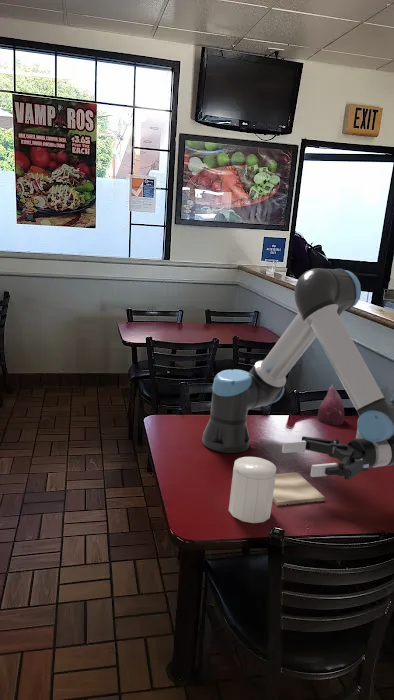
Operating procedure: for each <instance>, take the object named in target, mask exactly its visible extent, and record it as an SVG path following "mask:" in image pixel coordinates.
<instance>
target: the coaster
mask: <svg viewBox="0 0 394 700" xmlns="http://www.w3.org/2000/svg"><path fill="white" fill-rule="evenodd" d="M325 497H326V496H324V494H322V493H321V492H320V491H318V489H317V488H315V487H314V486H313V485H312V484H311V483H310V482H308V481H307V480H306V479H305V477H303V476H302V475H301V474H300V473H298V472H295V471H294V472H286V473H276V477H275V485H274V492H273V499H272V503H273V504H274V505H275V506H276V507H279V506H288V505H297V504H298V505H299V504H305V503H306V502H307V503H314V502H315V501H316V502H322V501H324V502H325V499H326V498H325ZM287 504H288V505H287Z"/></svg>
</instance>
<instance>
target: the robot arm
mask: <svg viewBox="0 0 394 700" xmlns="http://www.w3.org/2000/svg"><path fill="white" fill-rule="evenodd" d="M294 287H295V288H294V293H293V294H294V301H295V304H296V307H297V310H298V312H297V314H296V315H295V317H294V318H293V320H292V321H291V322H290V324H289V325H288V326H287V328H285V330H284V332H283V333H282V335H280V338H279V339H278V340H277V342H276V343H274V344H275V345H274V346H273V347H272V348H271V350H270V351H269V353H268V354H267V355H266V357H264V359H262V360H261V359H260V360H258V361H256V362H255V363H254V365H253V366H252V368H251V369H250V370H249V371H246V370H243V369H237V368H236V369H235V368H234V369H224V370H221V371H220V372H218V373H217V374H216V375H215V376H214V377H213V378H214V379H213V383H212V387H211V388H212V393H211V403H210V404H211V405H210V414H209V415H210V416H209V420H208V422H207V425H206V426H205V428H204V430H203V433H202V439H201V440H202V444H203V445H204V446H205V447H207V449H210V450H213V451H215V452H219V453H225V454H238V453H242V452H245V451H247V450H248V449H249V448H250V442H251V441H250V435H249V430H248V425H247V418H248V412H249V410H252V409H255V408H259V407H264V406H265V407H266V406H270V405H272V404H274V403H276V402H277V401H279V400H280V399H281V398H282V397H283V395H284V393H285V390H286V389H285V385H286V383H287V377H286V376H287V375H288V374H289V372H290V371H291V369H292V368H293V367H294V366H295V365H296V364H297V362H298V361H299V359H300V358H301V357H302V356H303V354H304V353H305V352H306V351H307V349H309V347H310V346H311V344H312V343H313V342H314V340H315V339H317V340H318V342H319V344H320V346H321V347H322V350H323V352H324V353H325V355H326V356H327V359H328V361H329V362H330V364H331V366H332V368H333V369H334V372H335V374H336V375H337V377H338V378H339V380H340V382H341V385H342V386H343V388H344V390H345V392H346V393H347V395H348V397H349V399H350V401H351V403H352V405H353V407H354V408H355V410H356V412H357V414H358V419H357V423H356V427H357V428H358V431H359V433H360V435H361V436H362V437H363V438H360V439H356V438H353V439H352V440H350V442H349V443H348V444H346V443H340V440H339V439H335V438H334V439H328V438H322V437H321V438H320V437H312V436H305V435H304V436H302V437H301V440H293V441H292V440H291V441H283V442H282V446H281V447H282V448H281V453H282V454H289V453H300V452H303V453H305V451H310V452H314V453H320V454H324V455H328V457H330V458H334V459H335V458H336V459H338V460H339V462H338V463H337V462H330V463H329V462H328V463H321V464H320V463H319V464H318V463H316V464H311V468H310V475H309V476H310V477H312V478H317V477H327V476H338V477H343V479H344V480H350V479H352V478H354V477H355V476H357V475H359V474H360V473H362V472H367V471H369V469H370V468H377V467H389V466H394V392H392V394H391V398H390V400H389V403H388V401H387V399H386V398H385V396H384V394H383V393H382V392H383V391H381V389H380V387H379V386H378V383H377V381H376V380H375V378H374V376H373V374H372V373H371V370H370V369H369V366H367V364H366V361H365V360H364V358H363V356H362V355H361V353H360V351H359V349H358V347H357V345H356V344H355V342H354V340H353V338H352V337H351V335H350V333H349V331H348V329H347V328H346V326H345V324H344V322H343V320H342V319H341V317H340V316H341V315H342V313H344V311H348V310H351V309H352V308H353V307H355V306H356V305H357V303H359V300H360V298H361V295H362V288H361V283H360V281H359V279H358V277H357V275H355V274H354V273H353V272H352V271H350V270H345V269H343V268H334V269H333V268H332V269H331V268H318V267H316V268H312V269H309V270H307V271H305V272H303V274H301V275H300V276H299V277H298V279H297V281H296V283H295V286H294Z"/></svg>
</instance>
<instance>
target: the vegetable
mask: <svg viewBox="0 0 394 700" xmlns="http://www.w3.org/2000/svg"><path fill="white" fill-rule="evenodd" d="M344 408H345V407H344V402H343V399H342V397H341V396H340V394H339V392H338V391H337V390H336V388H335V386H334V385H333V384H331V386H330V387H329V388H328V391H327V393H326V396H325V397H324V398H323V400H322V401H321V403H320V405H319V407H318V412H317V416H316V418H317V421H319V422H321V423H323V424H327V425H331V426H342V425H343V424H344V421H345V409H344Z"/></svg>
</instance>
